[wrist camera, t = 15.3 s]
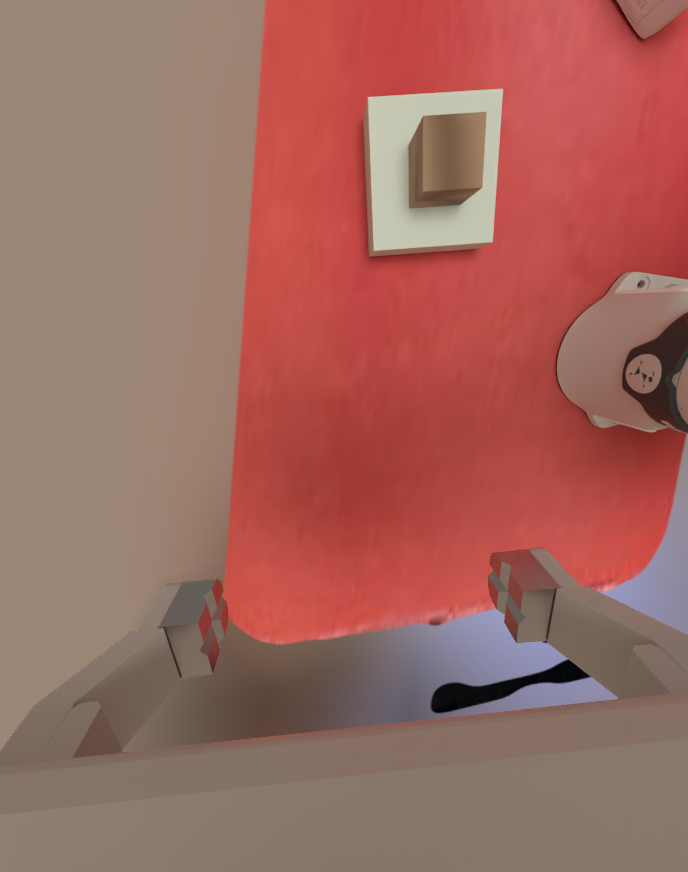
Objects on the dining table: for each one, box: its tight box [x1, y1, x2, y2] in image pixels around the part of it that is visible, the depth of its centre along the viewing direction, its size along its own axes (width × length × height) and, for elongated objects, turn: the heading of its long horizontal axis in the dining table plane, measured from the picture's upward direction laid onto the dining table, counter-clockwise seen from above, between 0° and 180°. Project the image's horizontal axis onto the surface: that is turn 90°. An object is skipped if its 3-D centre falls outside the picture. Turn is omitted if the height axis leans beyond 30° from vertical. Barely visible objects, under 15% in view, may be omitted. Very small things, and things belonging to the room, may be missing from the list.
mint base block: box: [363, 89, 503, 257], centre depth 34 cm, size 12×12×4 cm
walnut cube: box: [409, 112, 487, 208], centre depth 30 cm, size 5×5×5 cm
